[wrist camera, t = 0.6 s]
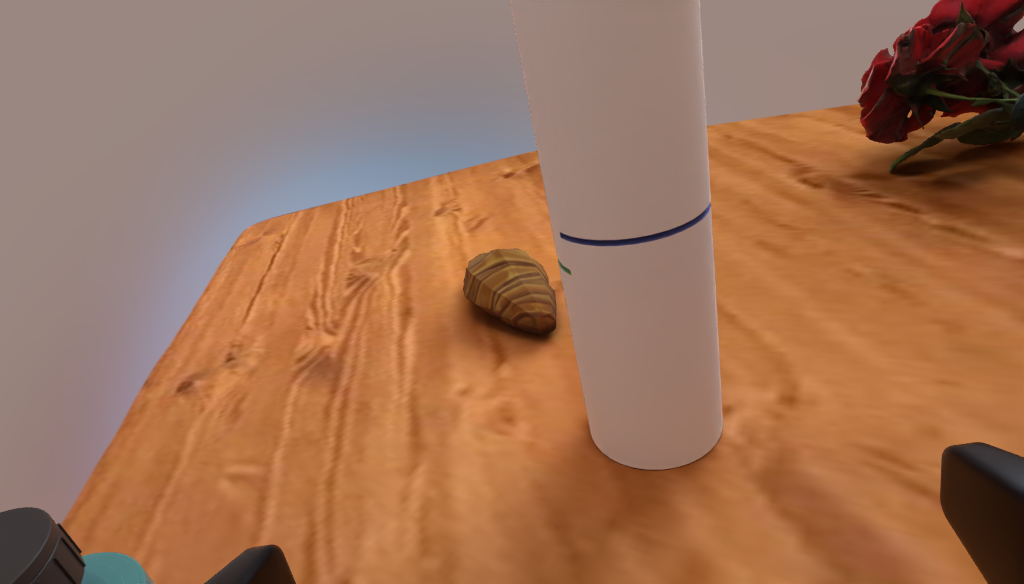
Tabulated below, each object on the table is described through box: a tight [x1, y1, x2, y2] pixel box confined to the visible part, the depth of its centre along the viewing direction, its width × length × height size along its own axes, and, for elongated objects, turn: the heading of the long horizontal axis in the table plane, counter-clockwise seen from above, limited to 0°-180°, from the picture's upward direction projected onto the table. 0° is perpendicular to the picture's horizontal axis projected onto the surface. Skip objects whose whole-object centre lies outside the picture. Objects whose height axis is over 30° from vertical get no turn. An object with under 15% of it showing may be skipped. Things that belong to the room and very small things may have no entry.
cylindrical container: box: [510, 0, 723, 470], centre depth 28 cm, size 7×7×25 cm
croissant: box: [463, 249, 556, 335], centre depth 47 cm, size 14×7×5 cm, turn 25°
